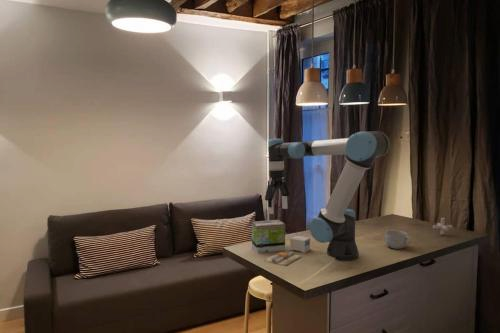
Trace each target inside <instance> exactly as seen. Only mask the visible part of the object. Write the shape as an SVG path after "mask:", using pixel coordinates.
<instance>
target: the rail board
mask: <svg viewBox="0 0 500 333" xmlns="http://www.w3.org/2000/svg"><path fill="white" fill-rule="evenodd" d="M280 252H281V251H277V253H275V254H272V255H271V256H269V257H267V258H265V259H263V261H264V262H266V263H272V264H276V265H281V266H283V267H284V266H285V267H288V266H289V265H290V264H293V263H294V262H296V261H297V260H299V259H301V258H302V256H301V255H297V254H295V253H294V251H292V250H287V251H286V250H285V251H284V253H288V256H287V257H281V256H278V253H280Z"/></svg>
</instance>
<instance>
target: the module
mask: <svg viewBox="0 0 500 333" xmlns="http://www.w3.org/2000/svg"><path fill="white" fill-rule="evenodd" d="M289 240H290V241H289V243H290V244H289V245H290V246H289V249H290V250H289V251H294V250H295V251H297V252H301V253H306V252H309V251H310V250H311V237H309V236H307V237H306V236H300V235H295V236H292V237H290V238H289Z"/></svg>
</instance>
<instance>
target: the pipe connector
mask: <svg viewBox="0 0 500 333" xmlns="http://www.w3.org/2000/svg"><path fill="white" fill-rule="evenodd" d="M445 220H446V219H445V217H441V218H440V222H437V223H436V224H435V225H434V224H433V225H432V229H440V234H444V235H445V231H448V230H449V229H452V228H453V225H452V224H445Z"/></svg>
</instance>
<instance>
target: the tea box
mask: <svg viewBox="0 0 500 333" xmlns="http://www.w3.org/2000/svg"><path fill="white" fill-rule="evenodd" d="M251 249H252V250H254V251H255V252H256V253H257V254H260V253H269V252H271V253H273V252H282V251H286V223H284V222H283V221H281V220H280V219H271V220H257V221H256V220H255V221H251Z"/></svg>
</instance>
